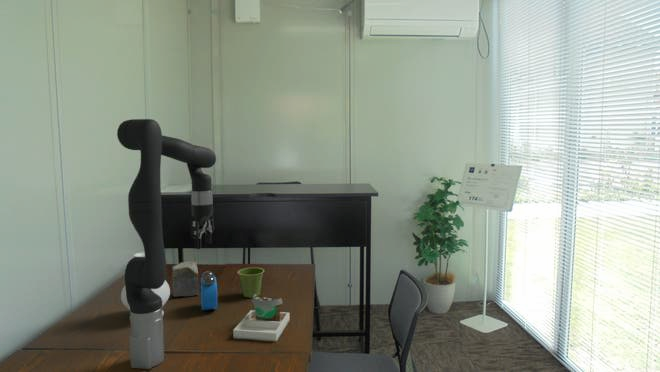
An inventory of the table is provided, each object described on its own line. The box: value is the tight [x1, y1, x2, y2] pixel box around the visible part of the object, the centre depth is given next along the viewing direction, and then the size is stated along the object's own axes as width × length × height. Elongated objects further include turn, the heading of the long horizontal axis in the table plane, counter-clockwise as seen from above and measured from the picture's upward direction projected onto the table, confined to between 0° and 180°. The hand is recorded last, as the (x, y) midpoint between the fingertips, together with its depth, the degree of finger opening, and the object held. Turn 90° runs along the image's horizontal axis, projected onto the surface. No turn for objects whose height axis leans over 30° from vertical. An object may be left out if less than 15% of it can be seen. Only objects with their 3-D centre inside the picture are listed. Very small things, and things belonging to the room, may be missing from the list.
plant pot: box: [237, 267, 265, 299], centre depth 195 cm, size 12×12×11 cm
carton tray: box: [232, 309, 291, 342], centre depth 161 cm, size 18×16×3 cm
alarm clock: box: [199, 270, 218, 312], centre depth 179 cm, size 13×6×15 cm, turn 19°
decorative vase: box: [120, 251, 171, 317], centre depth 171 cm, size 18×18×25 cm
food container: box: [251, 294, 283, 322], centre depth 163 cm, size 12×6×10 cm, turn 66°
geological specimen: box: [171, 260, 200, 298], centre depth 195 cm, size 11×6×15 cm, turn 115°
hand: (203, 245), depth 162 cm, fingers open, 8 cm apart
